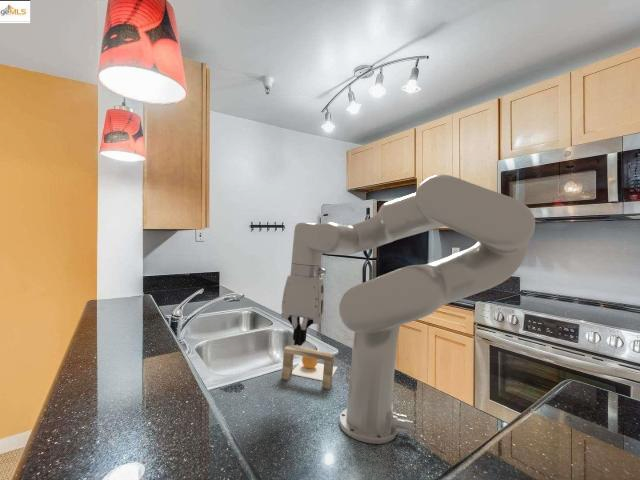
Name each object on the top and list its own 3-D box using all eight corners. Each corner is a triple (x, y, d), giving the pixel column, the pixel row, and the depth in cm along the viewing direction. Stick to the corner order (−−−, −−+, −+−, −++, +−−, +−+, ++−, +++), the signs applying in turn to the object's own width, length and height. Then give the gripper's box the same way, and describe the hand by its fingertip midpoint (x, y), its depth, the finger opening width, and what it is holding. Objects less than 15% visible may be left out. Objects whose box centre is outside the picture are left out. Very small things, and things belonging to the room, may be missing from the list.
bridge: (285, 374, 90) (288, 345, 91) (331, 384, 87) (334, 353, 87) (281, 378, 88) (284, 348, 88) (329, 389, 84) (331, 357, 84)
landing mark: (337, 367, 99) (337, 366, 99) (329, 382, 88) (329, 381, 88) (302, 360, 103) (302, 360, 103) (289, 374, 91) (289, 373, 91)
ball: (317, 364, 93) (317, 372, 97) (318, 349, 97) (318, 357, 100) (300, 363, 94) (301, 371, 97) (302, 348, 97) (303, 356, 101)
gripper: (337, 273, 80) (331, 344, 79) (283, 267, 84) (277, 335, 83) (330, 275, 73) (323, 353, 72) (272, 269, 77) (265, 343, 76)
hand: (299, 343), depth 78 cm, fingers closed
